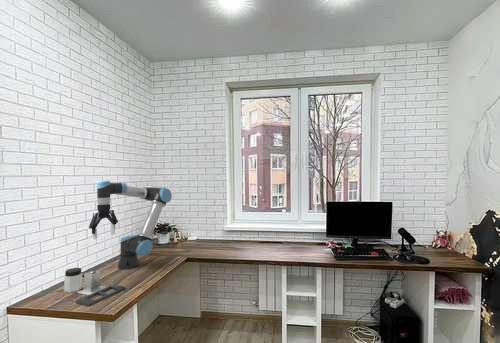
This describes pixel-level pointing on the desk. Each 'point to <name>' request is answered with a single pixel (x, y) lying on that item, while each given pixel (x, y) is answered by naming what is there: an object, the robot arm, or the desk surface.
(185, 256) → the desk surface
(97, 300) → the rack rail
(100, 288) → the parts mat
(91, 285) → the pale translucent bottle
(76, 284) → the jar
